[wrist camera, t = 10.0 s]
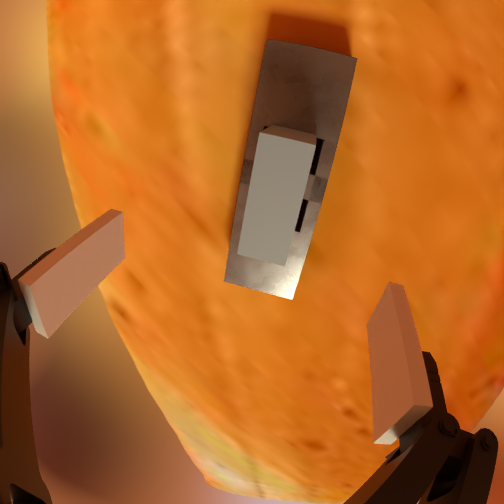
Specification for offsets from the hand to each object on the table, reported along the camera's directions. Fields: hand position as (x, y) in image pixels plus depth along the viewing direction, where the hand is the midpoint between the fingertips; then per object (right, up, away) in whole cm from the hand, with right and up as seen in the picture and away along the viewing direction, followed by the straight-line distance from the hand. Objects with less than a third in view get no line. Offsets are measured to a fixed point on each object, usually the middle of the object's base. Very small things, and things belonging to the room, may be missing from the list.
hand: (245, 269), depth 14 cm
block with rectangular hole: (+4, +9, +17) cm, 20 cm away
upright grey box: (+4, +9, +17) cm, 20 cm away
